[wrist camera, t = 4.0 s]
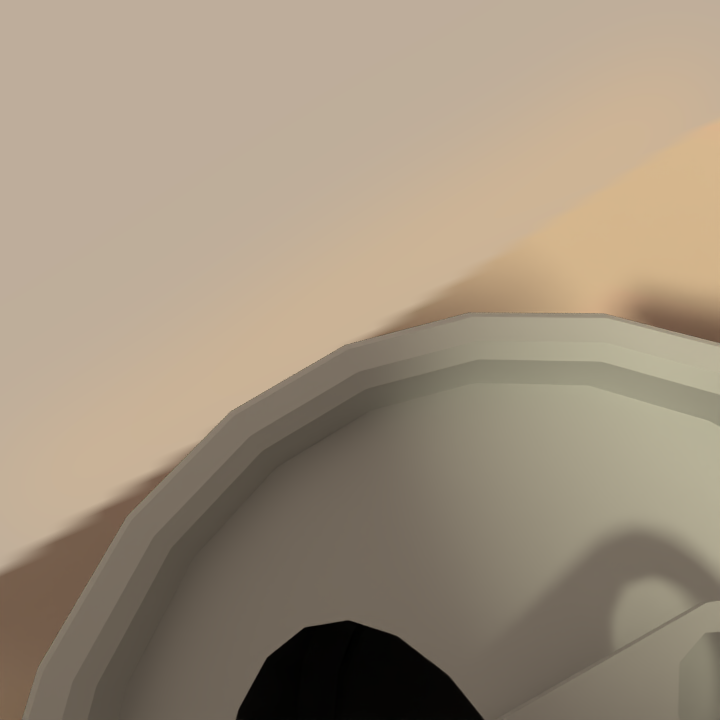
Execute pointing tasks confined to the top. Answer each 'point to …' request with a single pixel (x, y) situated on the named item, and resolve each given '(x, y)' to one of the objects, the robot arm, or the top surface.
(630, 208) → the top surface
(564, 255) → the top surface
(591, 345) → the can
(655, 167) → the top surface
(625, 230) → the top surface
